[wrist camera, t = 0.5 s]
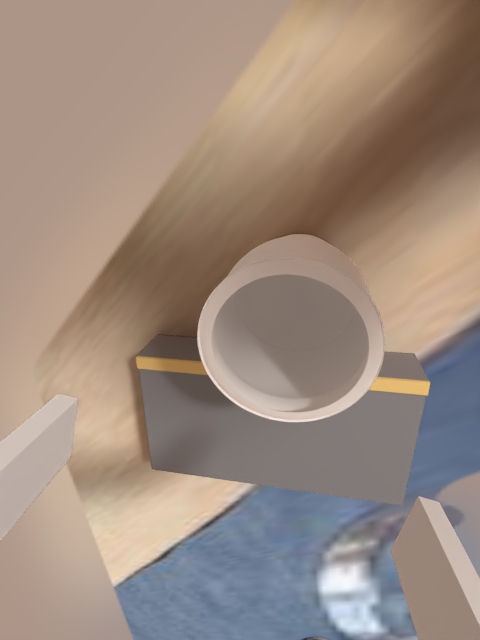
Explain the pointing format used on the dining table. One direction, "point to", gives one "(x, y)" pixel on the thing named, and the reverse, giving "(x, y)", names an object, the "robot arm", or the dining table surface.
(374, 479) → the dock
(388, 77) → the dining table surface
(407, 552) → the robot arm
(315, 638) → the coffee cup
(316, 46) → the dining table surface
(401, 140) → the dining table surface
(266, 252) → the jar
